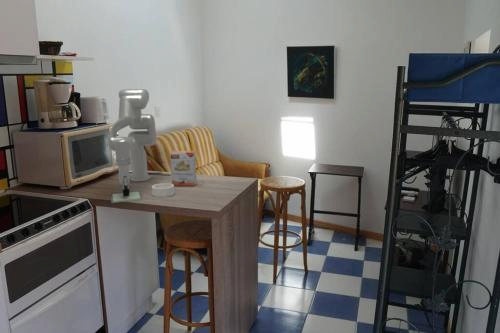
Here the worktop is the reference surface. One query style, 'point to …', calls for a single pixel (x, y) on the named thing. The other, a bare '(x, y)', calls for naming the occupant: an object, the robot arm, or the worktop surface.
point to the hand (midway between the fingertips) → (126, 194)
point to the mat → (125, 201)
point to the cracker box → (183, 168)
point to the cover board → (126, 197)
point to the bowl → (163, 190)
